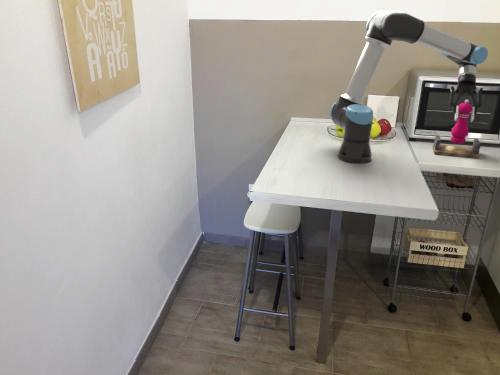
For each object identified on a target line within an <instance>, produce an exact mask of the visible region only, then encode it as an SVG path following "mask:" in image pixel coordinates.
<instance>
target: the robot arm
mask: <svg viewBox="0 0 500 375" xmlns="http://www.w3.org/2000/svg"><path fill="white" fill-rule="evenodd" d="M364 38H365V42H366V44H365V45H364V48H363V50H362V52H361V55H360V58H359V60H358V62H357V64H356V67H355V70H354V72H353V74H352V76H351V79H350V81H349V83H348V85H347V88H346V90H345V92H344V93H343V94H341V95H340V96H339V98H338V100H337V101H336V102H334V103H333V104H332V105H331V107H330V110H329V117H330V119H331V121H332V122H333V123H334V124H335V125H336V126H338V127H339V128H341V129H343V131H344V132H343V139H342V142H341V144H340V147H339V149H338V151H337V158H338V157H339V158H338V159H340V160H341V159H342V161H343V160H344V162H347V161H348V162H347V163H352V162H354V163H353V164H363V162H365V163H369V162H371V161H372V157H373V156H372V155H373V153H372V148H371V144H370V142H371V141H370V140H371V134H372V126H373V121H374V111H373V109H372V108H371V107H369V106H367V105H364V102H363V99H364V97H365V94H366V92H367V90H368V89H369V88H368V87H369V86H370V83H371V81H372V79H373V77H374V74H375V72H376V69H377V67H378V65H379V63H380V60H381V58H382V57H383V54H384V52H385V50H386V49H387V48H390V46H391V45H392V42H393V41H396V42H398V41H399V42H405V43H408V44H412V45H414V44H419V45H421V46H423V47H426V48H429V49H431V50H433V51H434V50H435V51H437V52H439V53H440V54H442V56H444V57H445V58H447V59H449V60H450V61H452V62H453V63H455V64H456V65H458V75H457V76H458V77H457V85H456V86H451V87H450V89H449V93H450V97H449V103H448V107H449V108H452V114H453V115H454V122H457V121H458V113H459V111H458V107H459V105H458V104H459V102H460V99H461V98H462V96H466V97H467V96H468V98H469V102H470V104H471V105H472V107H473V109H472V111H471V112H470V121H469V123H473V121H474V120H475V116H476V115H477V114H478V113H477V112H478V110H480V109H481V108H482V105H483V100H482V99H483V98H482V92H483V90H484V88H483V87H480V88H478V87H477V84H476V83H477V81H476V80H477V65H481V64H483V63H485V62H486V60H487V58H488V55H489V51H488V49H487V47H486V46H482V45H477V44H475V43H472V42H469V41H466V40H463V39H462V38H459V37H456V36H454V35H451V34H449V33H446V32H444V31H441V30H439V29H437V28H434V27H431V26H429V25H427V24H426V23H425V21H424V20H422V19H420V18H417V17H416V16H413V15H411V14H409V13H407V12H405V11H402V10H401V11H400V10H390V9H389V10H387V9H382V10H379V11H376V12H373V13H372V14H371V16H370V17H369V18H368V20H367V22H366V34H365V37H364ZM456 91H457V92H458V96H457V98H456V100H455V102H454V99H455V92H456ZM474 92H476V97H477V98H475V95H474Z"/></svg>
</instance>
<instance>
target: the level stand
mask: <svg viewBox="0 0 500 375" xmlns="http://www.w3.org/2000/svg"><path fill="white" fill-rule="evenodd" d="M481 145H482V143H481V142H480V140H479V139H478V138H473V142H472V146H471V147H469V146H462V145H461V146H459V145H449V144H442V143H441V137H440V135H437V134H435V138H434V143H433V144H432V145H431V146H432V150H433V151H432V152H433V154H434V155H437V156H439V155H440V156H447V157H449V156H450V157H459V158H465V159H466V158H467V159H475V160H476V159H477V160H479V159H480V149H481Z"/></svg>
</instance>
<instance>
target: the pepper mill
mask: <svg viewBox="0 0 500 375" xmlns="http://www.w3.org/2000/svg"><path fill="white" fill-rule="evenodd" d="M469 102H470V99H465V100H464V102H461V103H460V104H459V105H458V106H459V107H458V118H457V121H456V122H455V124H454V126H453V128H451V131H450V134H451V138H450V142H451V143H452V144H453V143H454V144H461V145H462V144H465V143H466V140H467V139H466V138H467V137H468V135H469V127H468V119H469V118H471V111H472V109H473V107H472V104H471V103H469Z"/></svg>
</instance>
